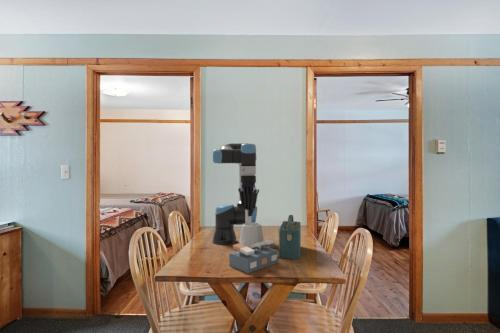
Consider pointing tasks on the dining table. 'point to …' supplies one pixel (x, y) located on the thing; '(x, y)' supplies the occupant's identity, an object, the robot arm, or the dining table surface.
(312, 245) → the dining table surface
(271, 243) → the rocker far
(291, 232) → the radio
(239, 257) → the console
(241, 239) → the vase
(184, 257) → the dining table surface
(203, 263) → the dining table surface
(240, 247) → the rocker near
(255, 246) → the rocker mid
